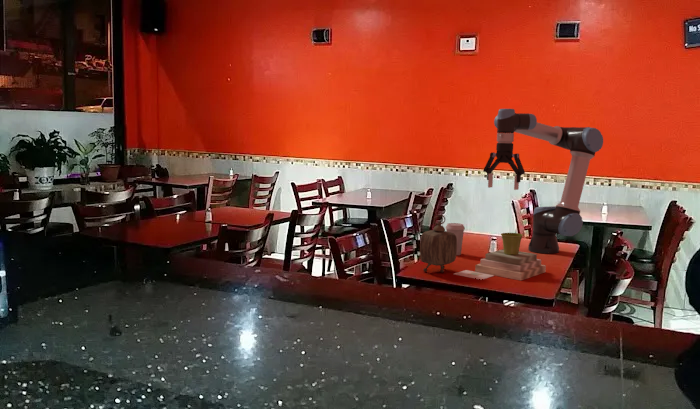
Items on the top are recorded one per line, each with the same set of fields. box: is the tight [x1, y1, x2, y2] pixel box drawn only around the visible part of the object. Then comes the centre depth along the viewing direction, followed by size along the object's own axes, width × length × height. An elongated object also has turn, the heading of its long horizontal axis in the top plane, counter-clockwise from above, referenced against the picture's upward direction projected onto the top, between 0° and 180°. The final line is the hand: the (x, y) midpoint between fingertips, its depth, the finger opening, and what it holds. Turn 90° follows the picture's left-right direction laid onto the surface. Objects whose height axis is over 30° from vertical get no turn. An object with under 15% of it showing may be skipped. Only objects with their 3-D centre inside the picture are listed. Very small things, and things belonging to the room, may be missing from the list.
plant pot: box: [500, 232, 524, 255], centre depth 273 cm, size 9×9×9 cm
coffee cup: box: [445, 222, 466, 256], centre depth 310 cm, size 10×10×15 cm
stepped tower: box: [474, 248, 547, 281], centre depth 274 cm, size 22×22×8 cm
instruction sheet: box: [453, 269, 495, 281], centre depth 268 cm, size 10×14×1 cm
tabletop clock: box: [419, 214, 457, 273], centre depth 271 cm, size 14×9×25 cm, turn 127°
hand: (503, 188), depth 290 cm, fingers open, 13 cm apart
